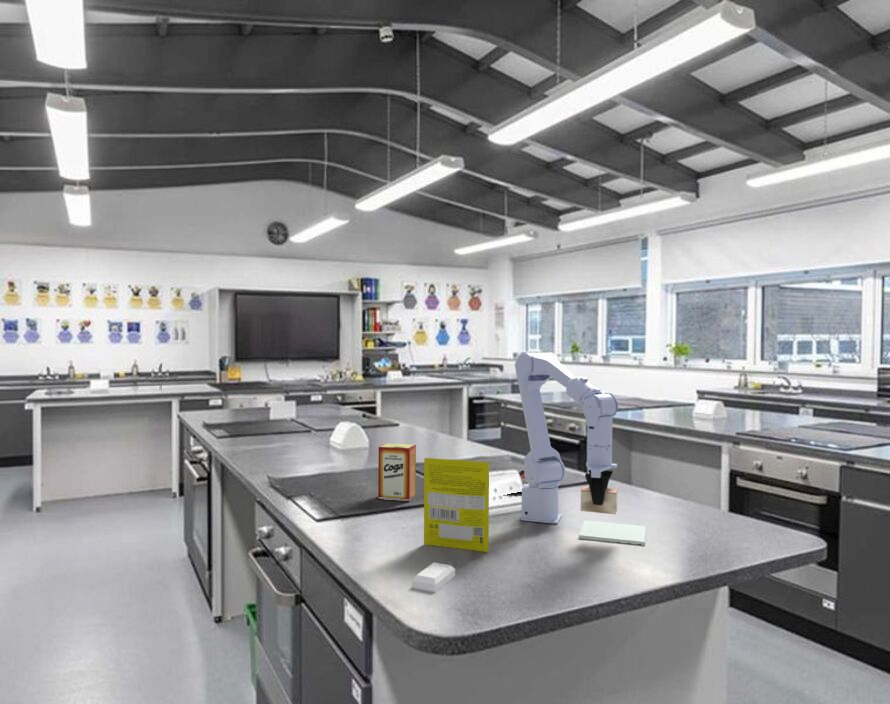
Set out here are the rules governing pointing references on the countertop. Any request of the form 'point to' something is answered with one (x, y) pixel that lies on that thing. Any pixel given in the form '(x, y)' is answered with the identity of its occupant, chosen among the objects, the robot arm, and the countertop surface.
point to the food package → (456, 504)
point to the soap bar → (433, 577)
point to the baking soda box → (397, 471)
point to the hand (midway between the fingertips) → (599, 502)
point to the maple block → (607, 506)
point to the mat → (613, 532)
